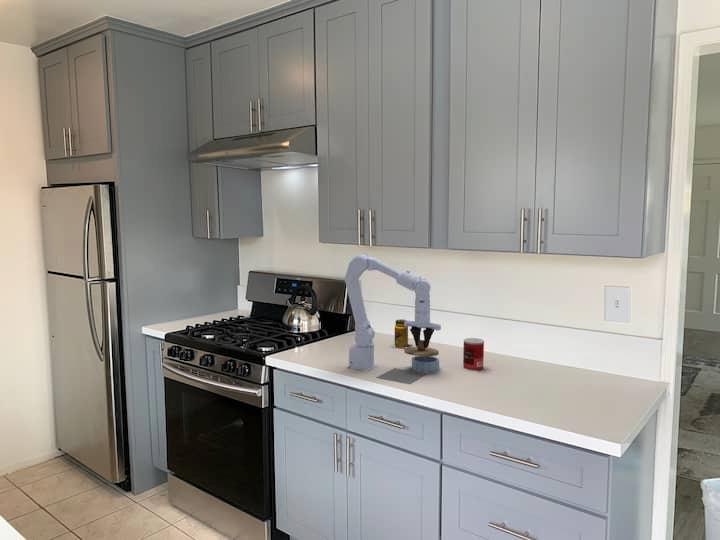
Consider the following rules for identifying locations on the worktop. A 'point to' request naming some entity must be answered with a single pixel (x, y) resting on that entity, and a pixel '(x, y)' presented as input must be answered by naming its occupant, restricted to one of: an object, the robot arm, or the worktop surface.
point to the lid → (421, 350)
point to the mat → (401, 376)
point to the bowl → (425, 363)
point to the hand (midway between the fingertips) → (422, 346)
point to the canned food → (473, 353)
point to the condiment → (401, 335)
